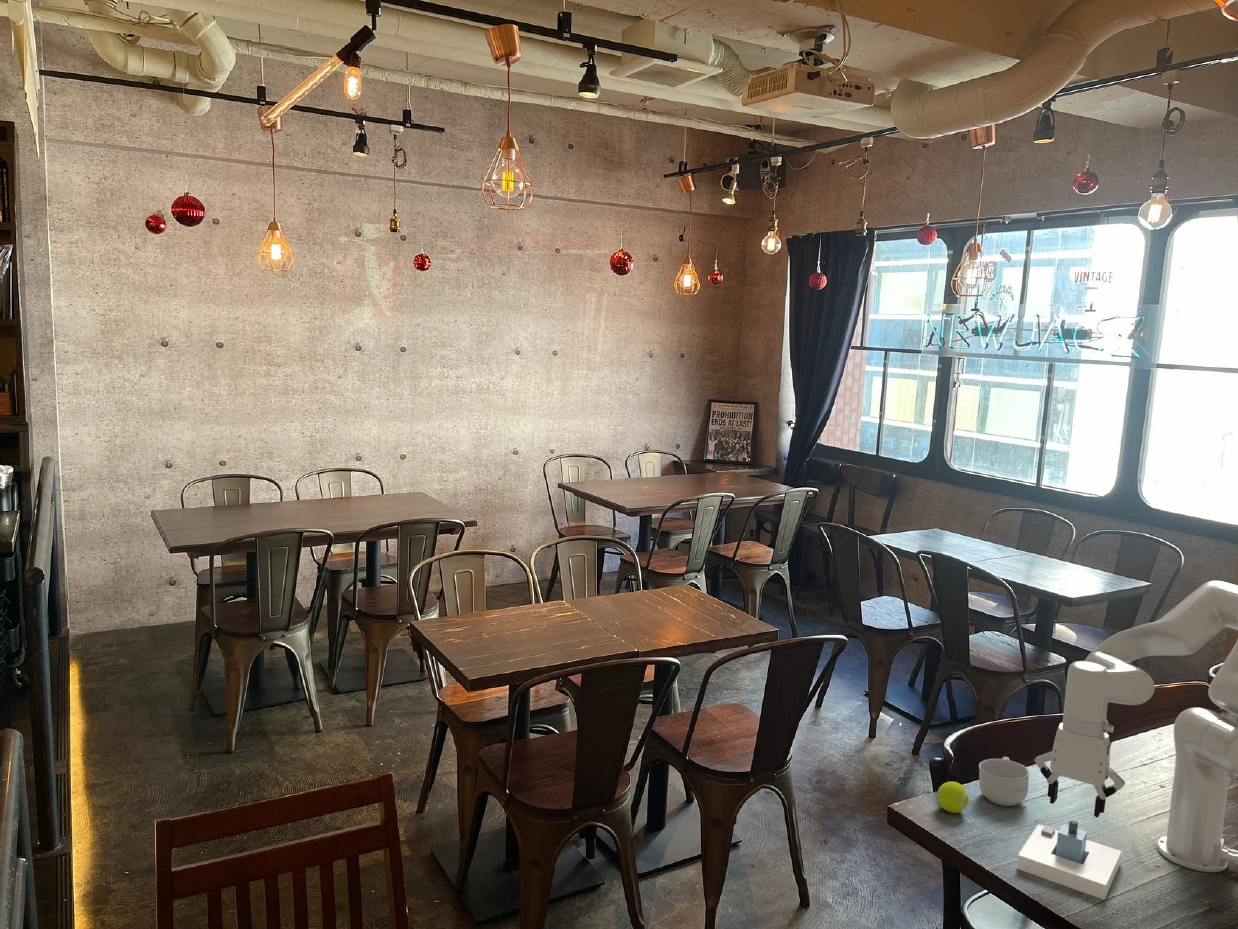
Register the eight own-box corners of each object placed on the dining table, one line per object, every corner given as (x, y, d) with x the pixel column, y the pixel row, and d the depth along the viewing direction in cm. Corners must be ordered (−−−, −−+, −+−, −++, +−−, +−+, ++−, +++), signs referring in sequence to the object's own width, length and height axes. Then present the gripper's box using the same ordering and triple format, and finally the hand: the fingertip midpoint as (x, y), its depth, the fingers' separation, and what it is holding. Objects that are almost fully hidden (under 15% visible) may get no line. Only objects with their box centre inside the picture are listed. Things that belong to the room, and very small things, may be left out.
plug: (1083, 864, 187) (1088, 822, 186) (1078, 873, 184) (1083, 831, 183) (1060, 856, 190) (1064, 815, 189) (1054, 865, 187) (1058, 823, 185)
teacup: (1019, 816, 207) (1022, 782, 206) (970, 801, 214) (973, 768, 213) (1034, 794, 218) (1037, 761, 217) (987, 779, 225) (990, 748, 224)
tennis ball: (942, 801, 213) (945, 773, 212) (971, 811, 209) (974, 783, 208) (931, 811, 208) (933, 783, 207) (961, 822, 204) (963, 793, 203)
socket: (1120, 865, 188) (1122, 847, 188) (1104, 900, 176) (1106, 881, 175) (1037, 837, 198) (1038, 820, 198) (1016, 868, 186) (1018, 851, 185)
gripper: (1136, 731, 181) (1126, 815, 183) (1041, 707, 191) (1034, 787, 194) (1129, 743, 175) (1119, 830, 177) (1032, 718, 186) (1024, 800, 188)
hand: (1075, 807), depth 185 cm, fingers open, 7 cm apart
